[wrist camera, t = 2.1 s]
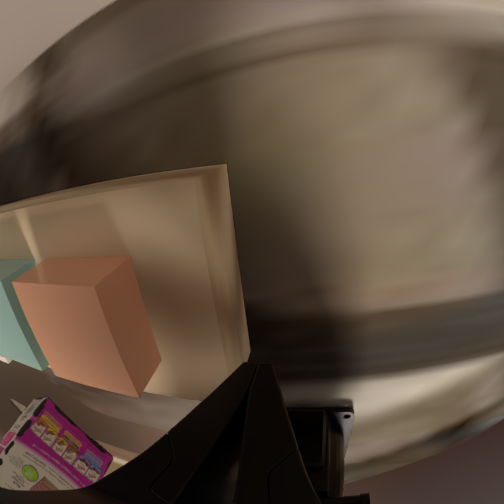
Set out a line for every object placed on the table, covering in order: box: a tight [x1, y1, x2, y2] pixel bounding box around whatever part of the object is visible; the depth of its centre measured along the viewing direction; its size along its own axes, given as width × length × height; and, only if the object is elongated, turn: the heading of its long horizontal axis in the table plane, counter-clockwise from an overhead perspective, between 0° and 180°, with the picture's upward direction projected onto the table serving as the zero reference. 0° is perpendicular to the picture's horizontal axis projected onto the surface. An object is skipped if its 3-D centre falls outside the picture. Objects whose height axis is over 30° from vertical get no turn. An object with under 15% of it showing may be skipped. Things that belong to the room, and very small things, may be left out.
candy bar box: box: [0, 397, 113, 490], centre depth 20 cm, size 11×5×16 cm, turn 32°
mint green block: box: [0, 259, 49, 371], centre depth 13 cm, size 5×5×2 cm
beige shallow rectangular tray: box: [0, 164, 251, 401], centre depth 15 cm, size 10×16×4 cm, turn 96°
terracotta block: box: [12, 256, 162, 398], centre depth 11 cm, size 5×5×2 cm
